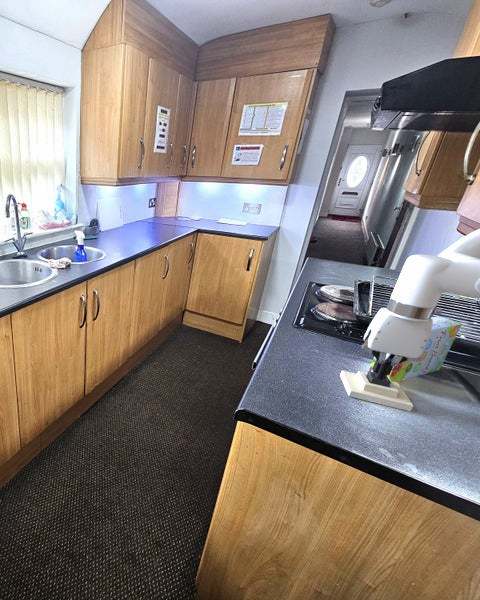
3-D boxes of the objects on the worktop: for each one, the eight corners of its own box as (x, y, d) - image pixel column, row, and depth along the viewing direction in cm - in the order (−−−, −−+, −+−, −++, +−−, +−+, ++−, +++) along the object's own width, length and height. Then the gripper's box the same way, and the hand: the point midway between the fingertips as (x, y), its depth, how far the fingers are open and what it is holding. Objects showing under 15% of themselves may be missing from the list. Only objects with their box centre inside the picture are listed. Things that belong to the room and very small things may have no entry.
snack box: (416, 360, 97) (438, 314, 91) (440, 371, 92) (465, 323, 86) (364, 373, 91) (384, 326, 85) (387, 385, 86) (410, 336, 80)
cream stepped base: (395, 388, 85) (400, 376, 84) (410, 411, 77) (417, 399, 76) (339, 375, 90) (343, 364, 89) (348, 396, 82) (353, 384, 80)
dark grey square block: (383, 380, 83) (386, 374, 82) (388, 388, 80) (391, 382, 80) (365, 376, 85) (368, 370, 84) (370, 384, 82) (372, 378, 81)
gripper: (444, 309, 75) (411, 376, 82) (363, 297, 81) (339, 360, 88) (462, 322, 69) (424, 393, 76) (373, 308, 75) (346, 375, 82)
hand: (378, 375), depth 82 cm, fingers closed
